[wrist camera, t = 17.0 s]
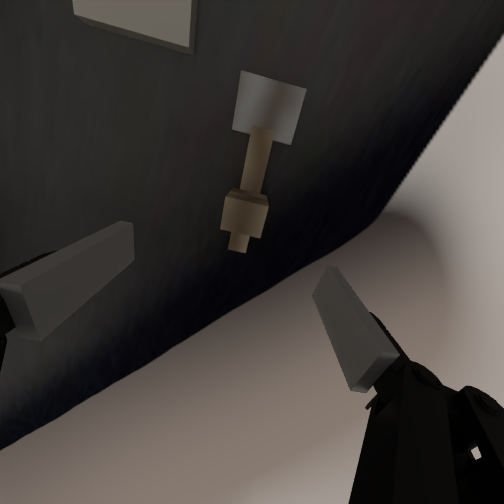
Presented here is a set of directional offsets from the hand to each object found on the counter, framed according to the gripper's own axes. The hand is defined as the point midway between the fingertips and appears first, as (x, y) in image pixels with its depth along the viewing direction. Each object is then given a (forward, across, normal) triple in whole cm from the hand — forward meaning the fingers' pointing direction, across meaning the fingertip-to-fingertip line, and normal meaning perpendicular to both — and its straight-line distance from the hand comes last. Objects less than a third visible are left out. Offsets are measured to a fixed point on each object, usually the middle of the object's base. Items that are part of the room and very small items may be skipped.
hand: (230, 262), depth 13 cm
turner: (+19, 0, -4) cm, 19 cm away
